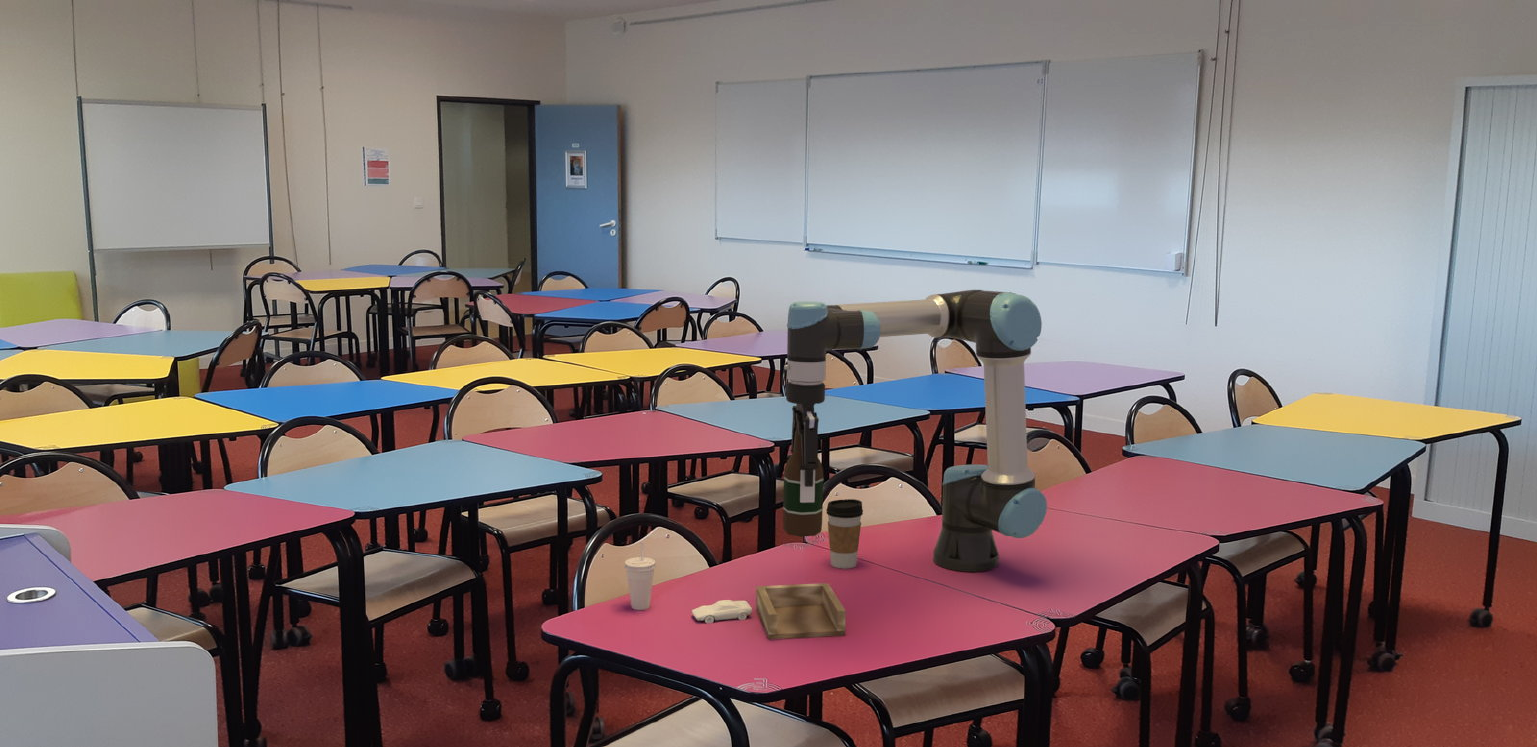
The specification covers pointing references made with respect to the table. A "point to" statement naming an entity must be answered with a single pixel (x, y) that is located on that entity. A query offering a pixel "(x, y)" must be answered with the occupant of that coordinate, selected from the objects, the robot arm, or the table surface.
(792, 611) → the u rest
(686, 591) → the table surface
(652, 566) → the smoothie
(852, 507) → the coffee cup
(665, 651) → the table surface
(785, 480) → the beer bottle
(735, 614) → the toy car
